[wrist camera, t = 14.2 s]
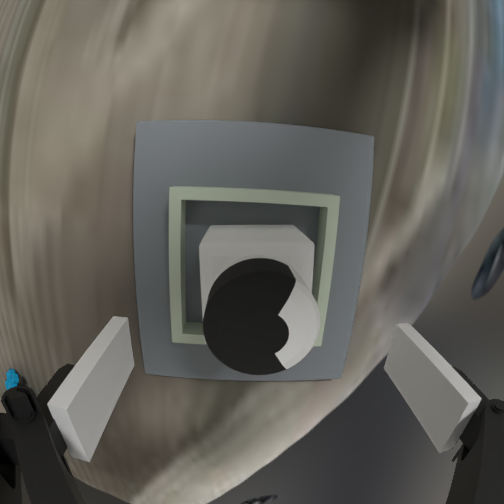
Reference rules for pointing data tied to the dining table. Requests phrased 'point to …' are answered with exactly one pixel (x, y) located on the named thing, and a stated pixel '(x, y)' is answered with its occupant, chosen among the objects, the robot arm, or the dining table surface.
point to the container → (258, 296)
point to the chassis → (245, 213)
